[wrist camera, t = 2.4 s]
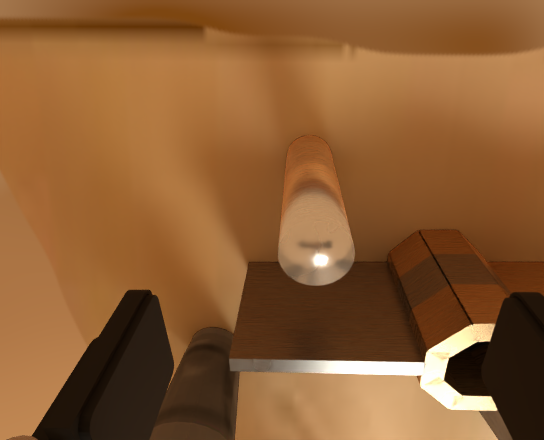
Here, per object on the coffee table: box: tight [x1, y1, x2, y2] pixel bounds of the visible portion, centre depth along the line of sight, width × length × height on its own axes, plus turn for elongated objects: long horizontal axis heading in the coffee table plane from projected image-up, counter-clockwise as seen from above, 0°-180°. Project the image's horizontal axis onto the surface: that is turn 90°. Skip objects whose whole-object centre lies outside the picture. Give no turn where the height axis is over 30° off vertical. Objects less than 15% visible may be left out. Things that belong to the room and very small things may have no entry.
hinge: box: [229, 230, 544, 411], centre depth 24 cm, size 28×7×10 cm, turn 93°
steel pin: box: [278, 135, 355, 286], centre depth 20 cm, size 3×3×12 cm
